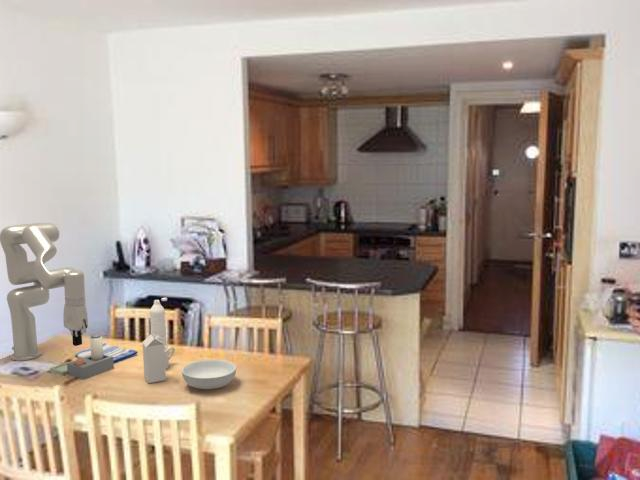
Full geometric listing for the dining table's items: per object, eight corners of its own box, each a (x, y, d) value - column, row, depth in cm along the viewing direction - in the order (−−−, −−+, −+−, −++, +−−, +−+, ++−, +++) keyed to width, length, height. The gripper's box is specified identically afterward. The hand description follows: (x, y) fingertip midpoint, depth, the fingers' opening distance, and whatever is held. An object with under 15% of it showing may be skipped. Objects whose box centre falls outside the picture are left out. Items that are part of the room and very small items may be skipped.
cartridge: (89, 365, 253) (87, 335, 251) (98, 361, 257) (97, 332, 255) (96, 367, 250) (94, 337, 248) (106, 363, 254) (104, 334, 252)
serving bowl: (212, 399, 221) (211, 381, 220) (171, 388, 232) (170, 371, 231) (247, 381, 238) (247, 364, 237) (208, 371, 249) (207, 355, 248)
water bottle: (158, 357, 267) (155, 302, 264) (149, 354, 271) (146, 300, 268) (173, 352, 274) (171, 298, 271) (164, 349, 278) (161, 296, 275)
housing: (67, 375, 247) (66, 363, 246) (98, 364, 260) (97, 353, 259) (83, 379, 242) (82, 367, 241) (113, 368, 254) (113, 356, 254)
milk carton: (148, 383, 236) (145, 337, 234) (144, 378, 243) (141, 332, 240) (166, 380, 240) (163, 334, 237) (162, 375, 246) (159, 330, 243)
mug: (150, 374, 247) (149, 355, 246) (139, 367, 255) (138, 349, 254) (180, 366, 255) (179, 348, 254) (169, 360, 263) (168, 342, 262)
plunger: (74, 369, 246) (74, 360, 245) (81, 367, 248) (80, 358, 248) (79, 370, 244) (78, 361, 243) (85, 368, 247) (85, 359, 246)
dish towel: (105, 347, 284) (105, 341, 284) (139, 355, 271) (139, 349, 271) (73, 358, 270) (73, 352, 269) (107, 367, 257) (107, 361, 256)
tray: (50, 372, 251) (50, 368, 251) (69, 365, 258) (69, 361, 258) (63, 375, 246) (63, 372, 246) (82, 369, 254) (82, 365, 253)
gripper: (55, 300, 243) (58, 343, 246) (78, 306, 235) (81, 351, 238) (71, 296, 249) (74, 339, 252) (95, 302, 241) (97, 345, 244)
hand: (77, 344), depth 245 cm, fingers closed
